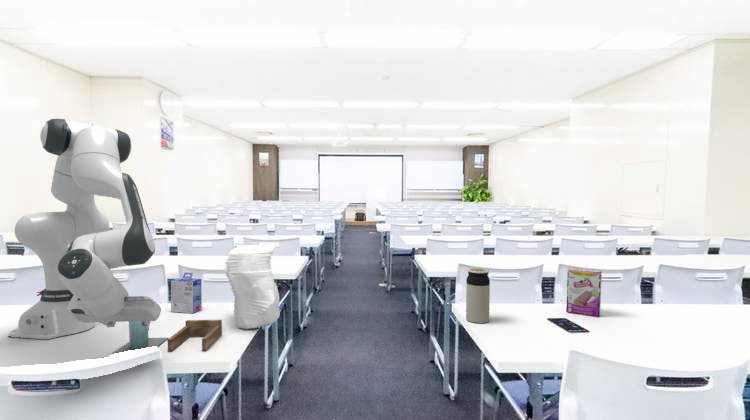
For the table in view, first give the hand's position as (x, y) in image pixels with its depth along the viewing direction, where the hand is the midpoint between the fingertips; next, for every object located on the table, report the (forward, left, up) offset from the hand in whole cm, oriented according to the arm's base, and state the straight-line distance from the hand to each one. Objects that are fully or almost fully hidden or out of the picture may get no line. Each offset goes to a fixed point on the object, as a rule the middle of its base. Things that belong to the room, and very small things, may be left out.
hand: (129, 324), depth 111 cm
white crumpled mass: (+26, +27, -9) cm, 39 cm away
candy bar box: (+147, +33, -9) cm, 152 cm away
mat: (-1, +5, -9) cm, 10 cm away
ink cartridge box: (-3, +42, -9) cm, 43 cm away
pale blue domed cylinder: (-1, +7, -8) cm, 11 cm away
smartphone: (+134, +20, -9) cm, 136 cm away
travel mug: (+105, +27, -9) cm, 109 cm away
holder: (+15, +9, -9) cm, 19 cm away
